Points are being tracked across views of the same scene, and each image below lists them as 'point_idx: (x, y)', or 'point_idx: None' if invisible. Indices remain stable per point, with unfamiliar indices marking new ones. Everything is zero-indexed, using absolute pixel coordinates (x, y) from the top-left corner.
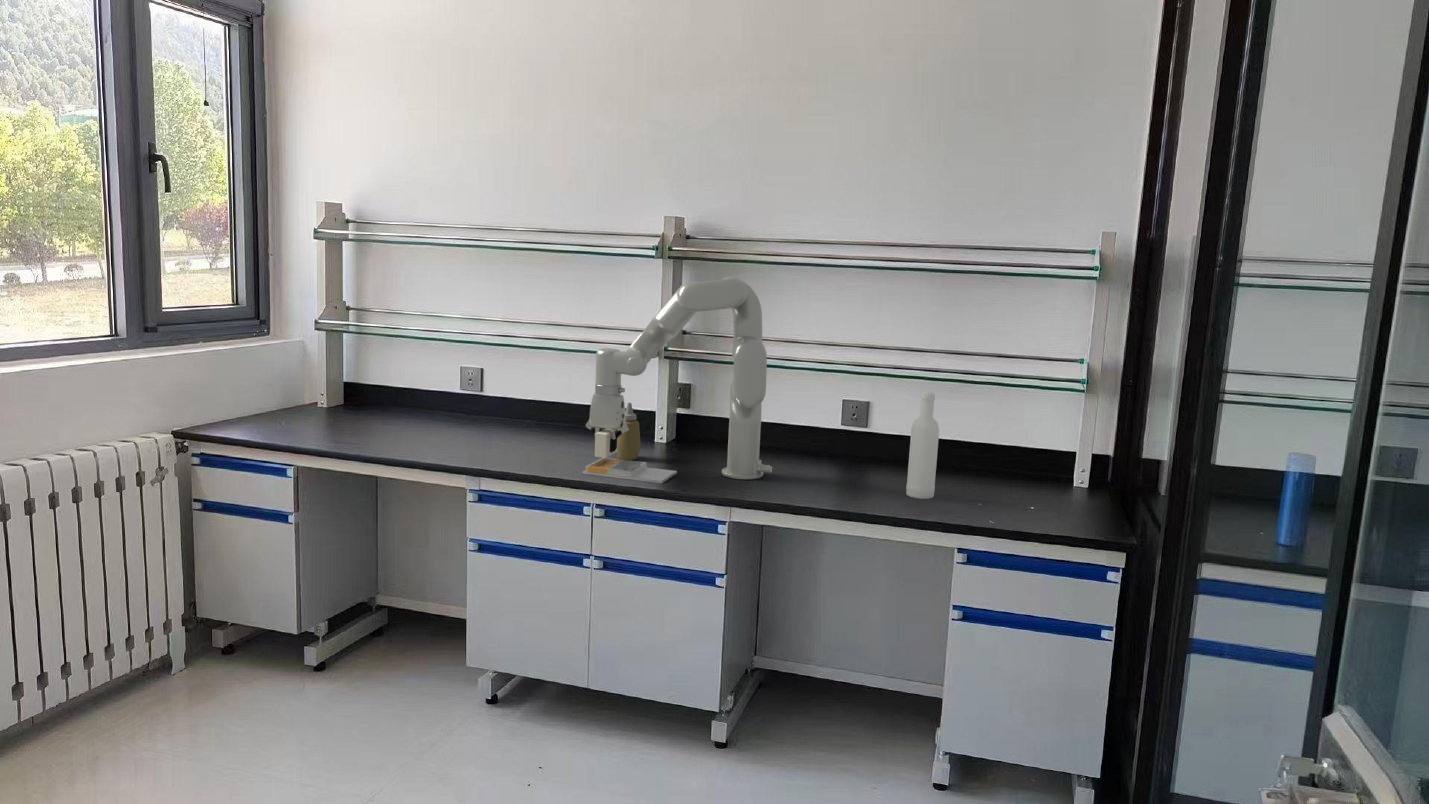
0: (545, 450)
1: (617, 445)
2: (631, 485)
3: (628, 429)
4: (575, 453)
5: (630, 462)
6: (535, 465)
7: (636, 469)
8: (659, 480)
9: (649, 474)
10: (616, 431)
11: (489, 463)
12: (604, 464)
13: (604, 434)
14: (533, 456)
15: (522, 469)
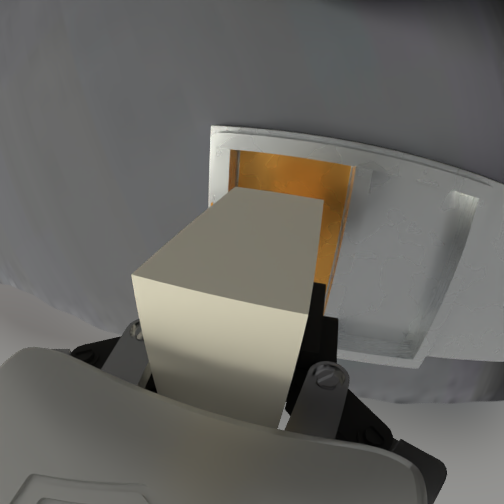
0: (10, 50)
1: (321, 216)
2: (411, 395)
3: (444, 473)
4: (72, 11)
5: (407, 176)
6: (52, 235)
7: (443, 317)
8: (499, 361)
9: (486, 303)
10: (318, 427)
11: (3, 248)
12: (255, 186)
13: None
14: (9, 134)
15: (59, 286)
